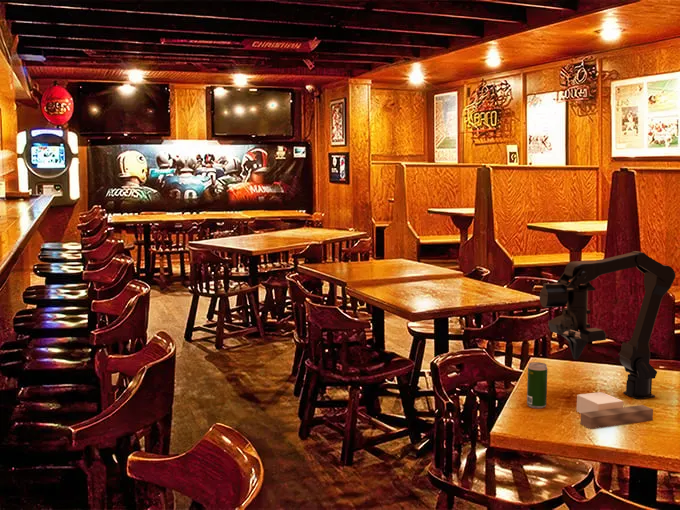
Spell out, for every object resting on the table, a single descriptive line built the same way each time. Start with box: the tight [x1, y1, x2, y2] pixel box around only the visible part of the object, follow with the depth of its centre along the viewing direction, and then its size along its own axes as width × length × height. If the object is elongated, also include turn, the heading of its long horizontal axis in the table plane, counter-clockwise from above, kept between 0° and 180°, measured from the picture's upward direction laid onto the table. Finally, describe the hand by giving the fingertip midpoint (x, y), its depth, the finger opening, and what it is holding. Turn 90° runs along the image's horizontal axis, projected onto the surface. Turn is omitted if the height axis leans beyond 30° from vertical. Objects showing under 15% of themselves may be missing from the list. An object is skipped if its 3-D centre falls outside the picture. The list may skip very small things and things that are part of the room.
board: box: [580, 404, 654, 430], centre depth 203 cm, size 20×4×3 cm, turn 110°
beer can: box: [526, 361, 548, 410], centre depth 216 cm, size 5×5×12 cm
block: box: [576, 391, 624, 414], centre depth 209 cm, size 8×9×5 cm
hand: (575, 359), depth 222 cm, fingers closed
